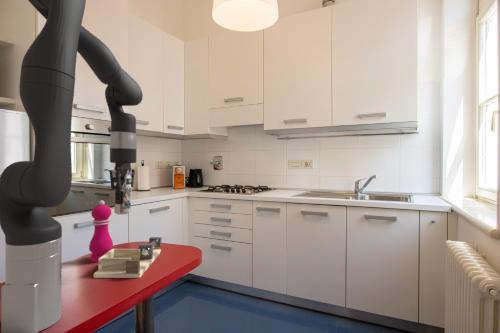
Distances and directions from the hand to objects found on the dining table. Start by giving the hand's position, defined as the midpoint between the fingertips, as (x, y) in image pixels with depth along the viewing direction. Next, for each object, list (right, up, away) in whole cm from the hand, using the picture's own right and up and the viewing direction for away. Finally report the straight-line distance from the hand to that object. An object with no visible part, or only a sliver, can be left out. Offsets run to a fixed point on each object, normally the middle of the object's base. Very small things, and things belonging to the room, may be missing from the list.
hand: (122, 202), depth 88 cm
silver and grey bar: (+5, -19, +12) cm, 23 cm away
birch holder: (+1, -21, +5) cm, 21 cm away
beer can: (0, -4, 0) cm, 4 cm away
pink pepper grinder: (-11, -21, +8) cm, 25 cm away
